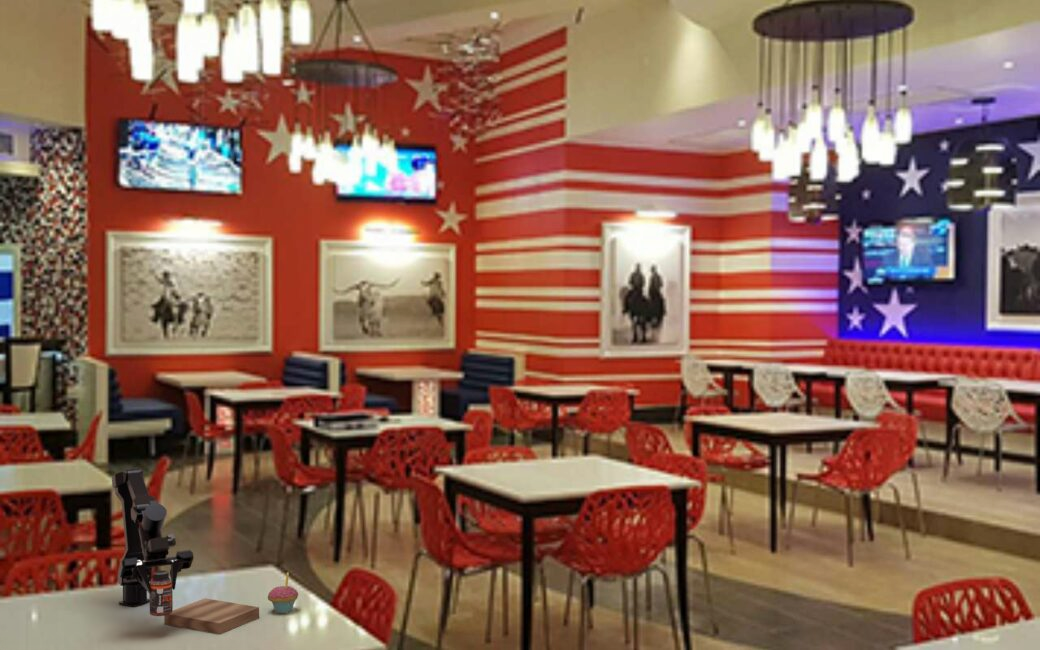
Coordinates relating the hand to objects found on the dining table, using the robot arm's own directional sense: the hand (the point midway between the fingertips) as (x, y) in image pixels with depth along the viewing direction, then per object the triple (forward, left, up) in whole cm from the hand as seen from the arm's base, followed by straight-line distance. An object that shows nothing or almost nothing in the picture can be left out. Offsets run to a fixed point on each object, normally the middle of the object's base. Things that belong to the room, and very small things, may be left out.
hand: (162, 590), depth 288 cm
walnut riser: (+3, +16, -12) cm, 20 cm away
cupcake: (+15, +32, -12) cm, 37 cm away
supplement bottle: (-1, +1, -7) cm, 7 cm away
